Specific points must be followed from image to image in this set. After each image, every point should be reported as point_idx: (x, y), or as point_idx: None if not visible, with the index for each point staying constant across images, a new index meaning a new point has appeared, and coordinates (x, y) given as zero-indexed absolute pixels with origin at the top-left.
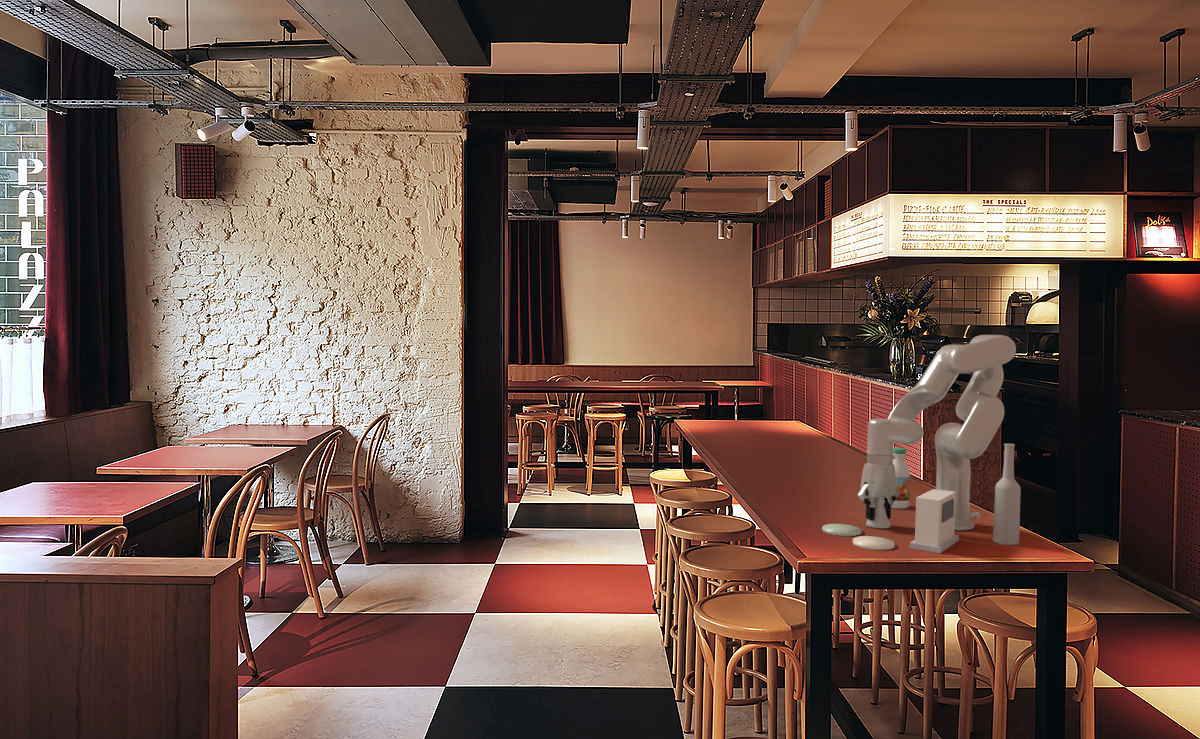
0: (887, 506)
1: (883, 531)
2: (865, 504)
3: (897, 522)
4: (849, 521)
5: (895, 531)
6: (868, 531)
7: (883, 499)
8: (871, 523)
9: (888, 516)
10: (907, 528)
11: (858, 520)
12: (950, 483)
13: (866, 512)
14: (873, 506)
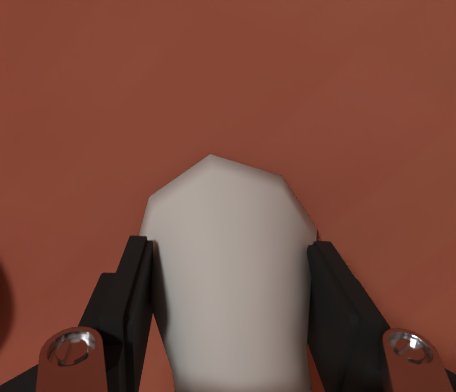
0: (331, 385)
1: (156, 343)
2: (35, 379)
3: (447, 204)
4: (107, 20)
5: None
6: (58, 319)
7: (388, 389)
8: None
9: None
10: None
11: (220, 23)
12: None
13: (93, 299)
14: (183, 344)
